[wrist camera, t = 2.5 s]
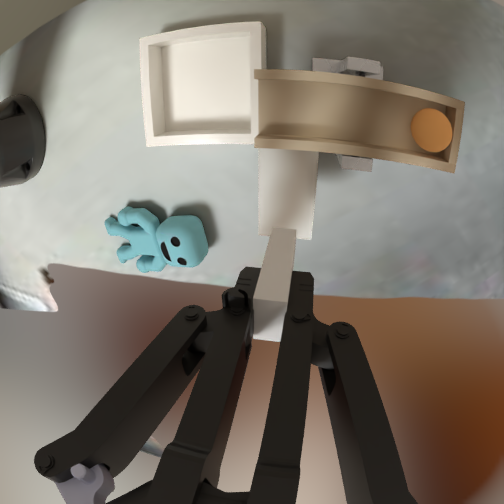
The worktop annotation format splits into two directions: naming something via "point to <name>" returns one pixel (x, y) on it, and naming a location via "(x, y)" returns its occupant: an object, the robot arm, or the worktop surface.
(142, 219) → the toy
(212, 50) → the dish
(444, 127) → the ball
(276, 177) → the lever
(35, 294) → the worktop surface
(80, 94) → the worktop surface
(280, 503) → the robot arm
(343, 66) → the fulcrum
